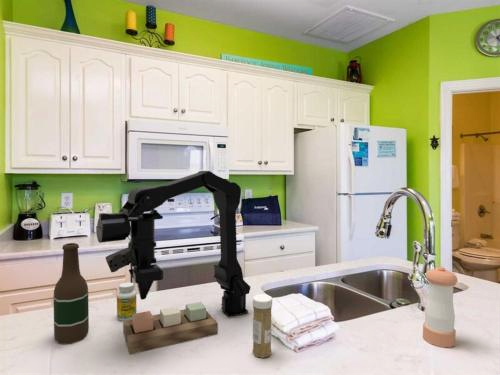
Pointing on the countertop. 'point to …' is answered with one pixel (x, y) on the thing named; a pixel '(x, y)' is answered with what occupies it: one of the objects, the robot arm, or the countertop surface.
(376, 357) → the countertop surface
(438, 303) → the pepper shaker
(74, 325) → the beer bottle
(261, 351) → the sprinkles bottle
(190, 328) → the wooden tray
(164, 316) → the cream key
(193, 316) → the sage key
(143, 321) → the terracotta key
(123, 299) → the supplement bottle
